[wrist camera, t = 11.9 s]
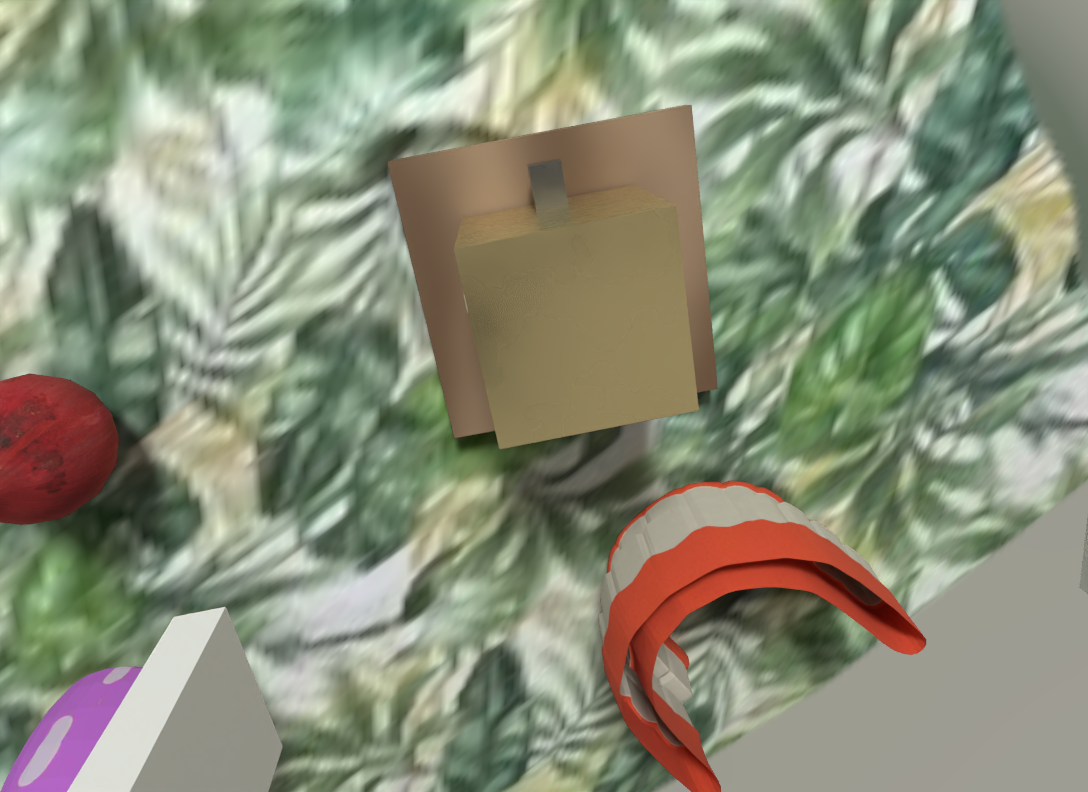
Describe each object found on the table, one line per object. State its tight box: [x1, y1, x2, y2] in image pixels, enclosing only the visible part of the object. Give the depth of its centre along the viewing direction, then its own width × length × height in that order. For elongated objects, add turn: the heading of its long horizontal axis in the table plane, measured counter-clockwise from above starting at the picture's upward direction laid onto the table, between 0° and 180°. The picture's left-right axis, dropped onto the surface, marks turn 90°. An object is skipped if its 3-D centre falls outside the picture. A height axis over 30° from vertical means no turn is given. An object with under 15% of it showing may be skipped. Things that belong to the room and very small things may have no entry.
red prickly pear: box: [0, 374, 119, 525], centre depth 29 cm, size 6×6×8 cm
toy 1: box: [1, 666, 143, 792], centre depth 30 cm, size 7×7×15 cm
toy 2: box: [598, 481, 926, 792], centre depth 34 cm, size 12×10×8 cm
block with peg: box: [454, 158, 699, 449], centre depth 27 cm, size 10×7×7 cm
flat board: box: [387, 105, 718, 438], centre depth 29 cm, size 12×12×6 cm
